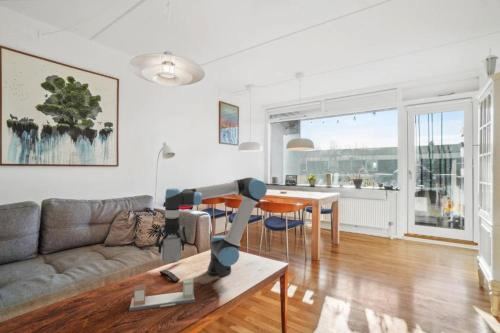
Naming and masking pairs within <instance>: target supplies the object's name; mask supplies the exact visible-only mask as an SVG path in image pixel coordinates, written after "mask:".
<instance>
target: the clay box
mask: <svg viewBox="0 0 500 333" xmlns="http://www.w3.org/2000/svg"><path fill="white" fill-rule="evenodd" d="M146 288H147V287H146V283H144V284H135V285H134V287H133V298H134V306H136V305H143V304H145V299H146V292H147V291H146V290H147V289H146Z"/></svg>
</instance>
